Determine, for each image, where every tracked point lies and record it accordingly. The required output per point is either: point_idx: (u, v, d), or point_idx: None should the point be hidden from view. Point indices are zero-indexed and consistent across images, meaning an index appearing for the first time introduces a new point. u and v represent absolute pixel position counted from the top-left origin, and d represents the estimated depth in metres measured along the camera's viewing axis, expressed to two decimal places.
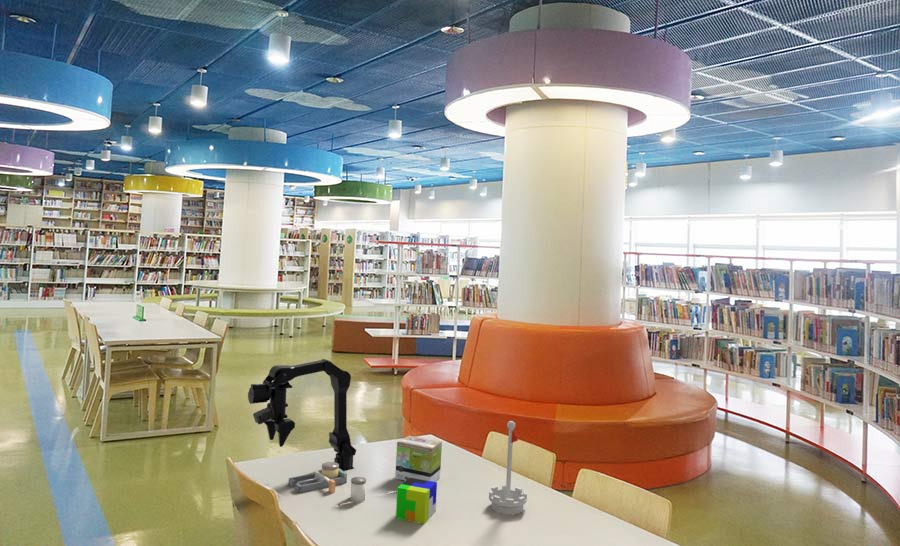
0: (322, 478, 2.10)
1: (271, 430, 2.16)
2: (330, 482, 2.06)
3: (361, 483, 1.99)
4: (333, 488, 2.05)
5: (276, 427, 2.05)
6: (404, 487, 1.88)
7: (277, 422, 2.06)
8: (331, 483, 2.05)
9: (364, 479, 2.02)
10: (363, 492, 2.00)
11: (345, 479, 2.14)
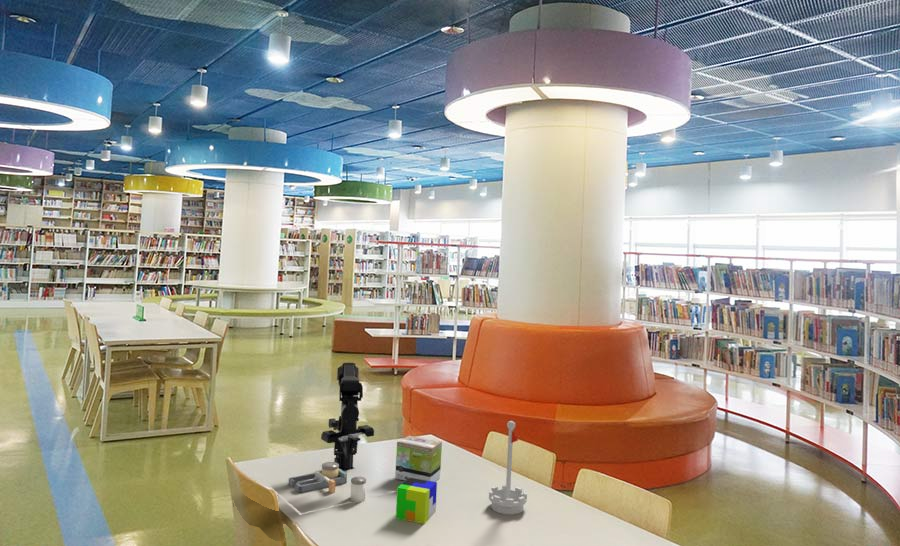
0: (322, 478, 2.10)
1: None
2: (330, 482, 2.06)
3: (361, 483, 1.99)
4: (333, 488, 2.05)
5: None
6: (404, 487, 1.88)
7: None
8: (331, 483, 2.05)
9: (364, 479, 2.02)
10: (363, 492, 2.00)
11: (345, 479, 2.14)
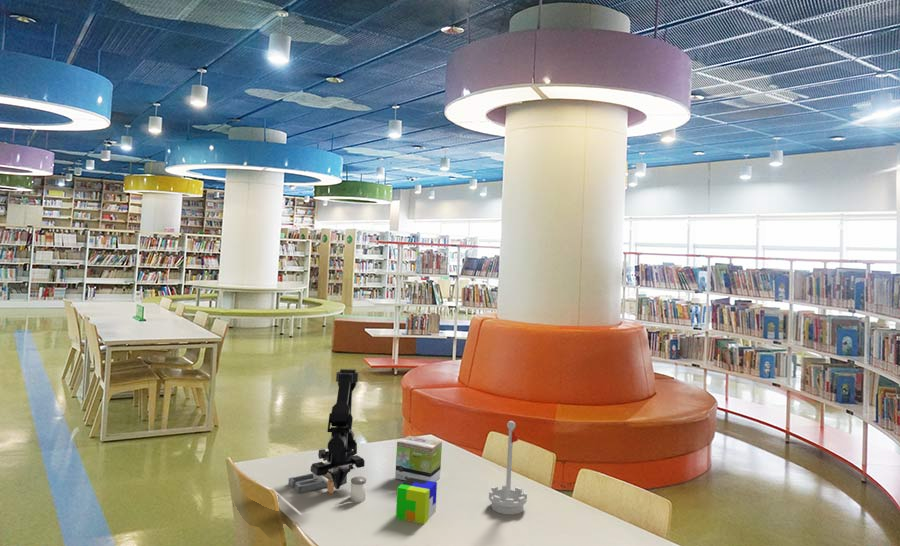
0: (321, 478, 2.10)
1: None
2: (329, 482, 2.05)
3: (361, 483, 1.99)
4: (332, 488, 2.04)
5: None
6: (404, 487, 1.88)
7: None
8: (330, 483, 2.05)
9: (364, 479, 2.02)
10: (363, 492, 2.00)
11: (345, 479, 2.14)
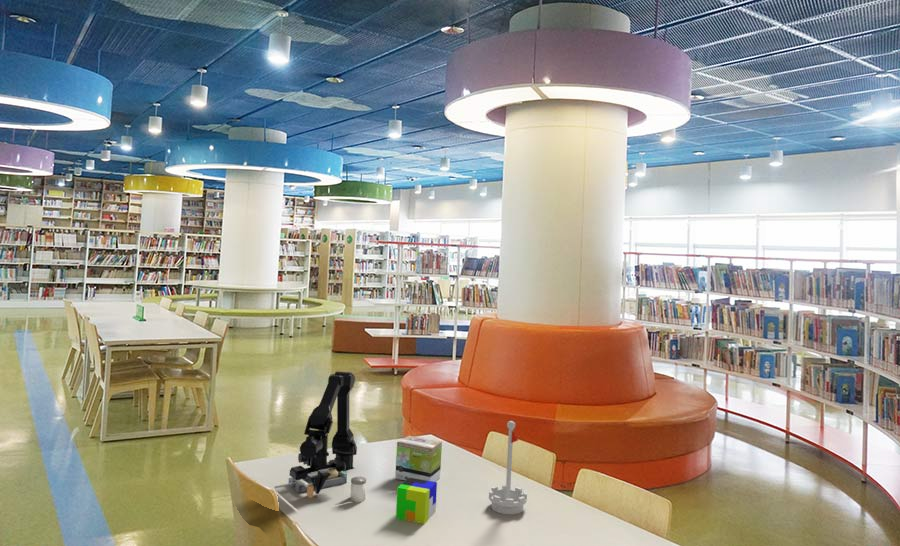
0: (301, 483, 2.05)
1: None
2: (308, 487, 2.00)
3: (361, 483, 1.99)
4: (311, 493, 2.00)
5: None
6: (404, 487, 1.88)
7: None
8: (309, 488, 2.00)
9: (364, 479, 2.02)
10: (363, 492, 2.00)
11: (345, 479, 2.14)
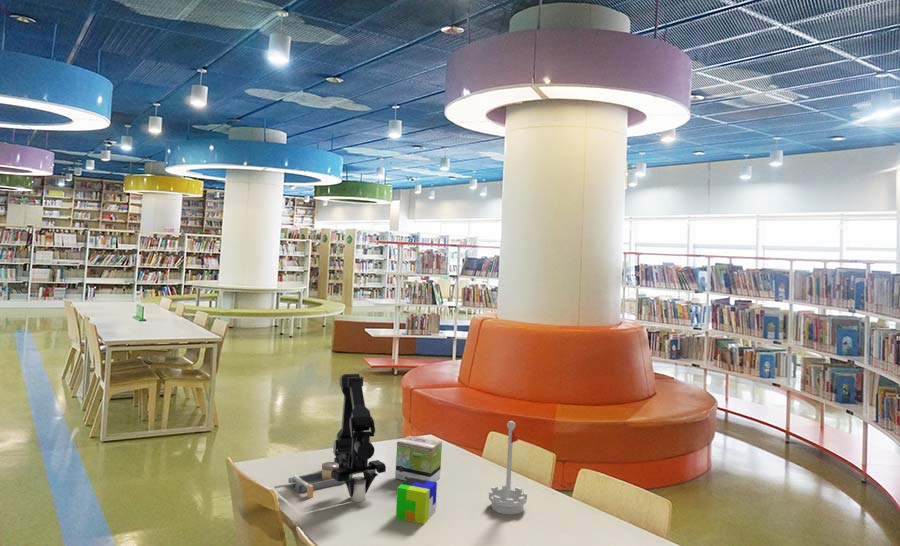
0: (301, 483, 2.05)
1: None
2: (308, 487, 2.00)
3: (361, 483, 1.99)
4: (311, 493, 2.00)
5: None
6: (404, 487, 1.88)
7: None
8: (309, 488, 2.00)
9: (364, 479, 2.02)
10: (363, 492, 2.00)
11: None
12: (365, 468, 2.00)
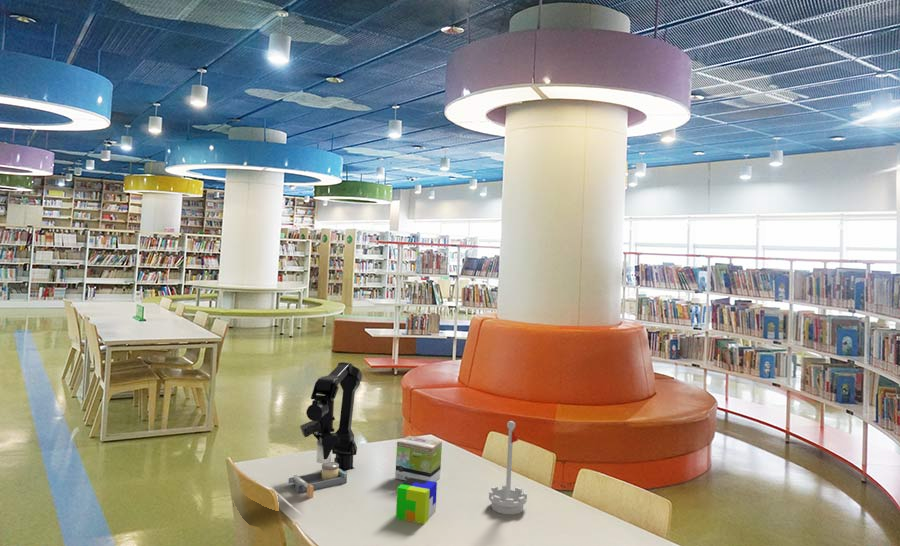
0: (301, 483, 2.05)
1: None
2: (308, 487, 2.00)
3: None
4: (311, 493, 2.00)
5: (320, 441, 2.01)
6: (404, 487, 1.88)
7: (321, 436, 2.01)
8: (309, 488, 2.00)
9: None
10: None
11: (345, 479, 2.14)
12: None
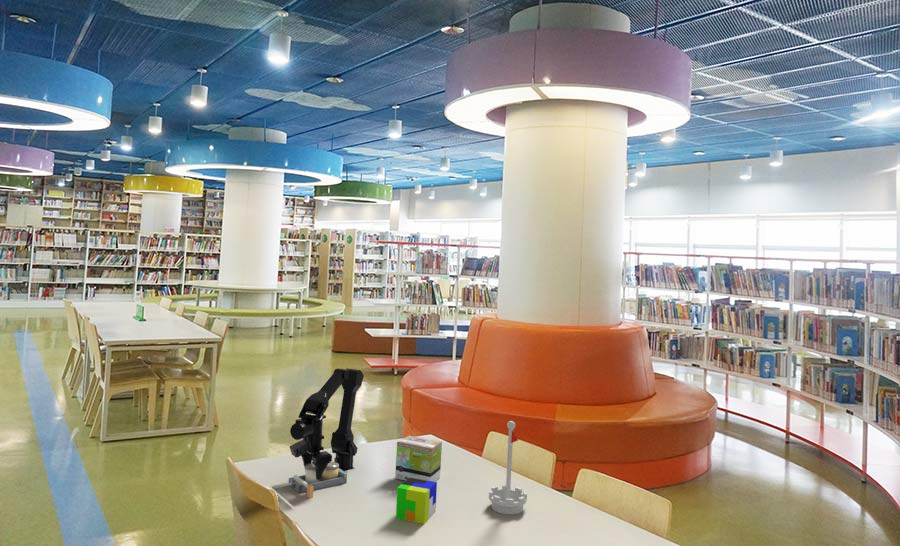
0: (301, 483, 2.05)
1: (307, 462, 2.15)
2: (308, 487, 2.00)
3: None
4: (311, 493, 2.00)
5: (313, 460, 2.04)
6: (404, 487, 1.88)
7: (314, 455, 2.04)
8: (309, 488, 2.00)
9: None
10: None
11: (345, 479, 2.14)
12: None
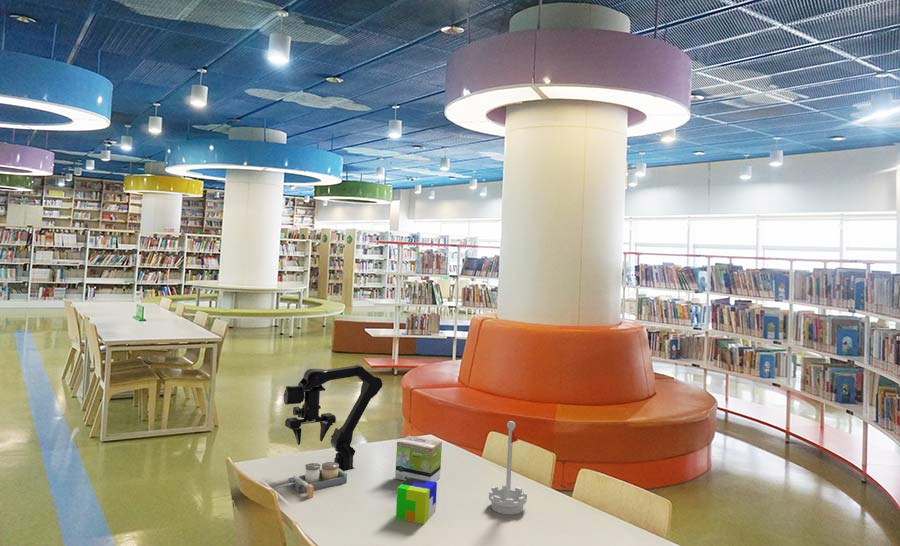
0: (301, 483, 2.05)
1: (321, 432, 2.26)
2: (308, 487, 2.00)
3: None
4: (311, 493, 2.00)
5: None
6: (404, 487, 1.88)
7: None
8: (309, 488, 2.00)
9: (313, 463, 2.13)
10: None
11: (345, 479, 2.14)
12: (316, 418, 2.21)
